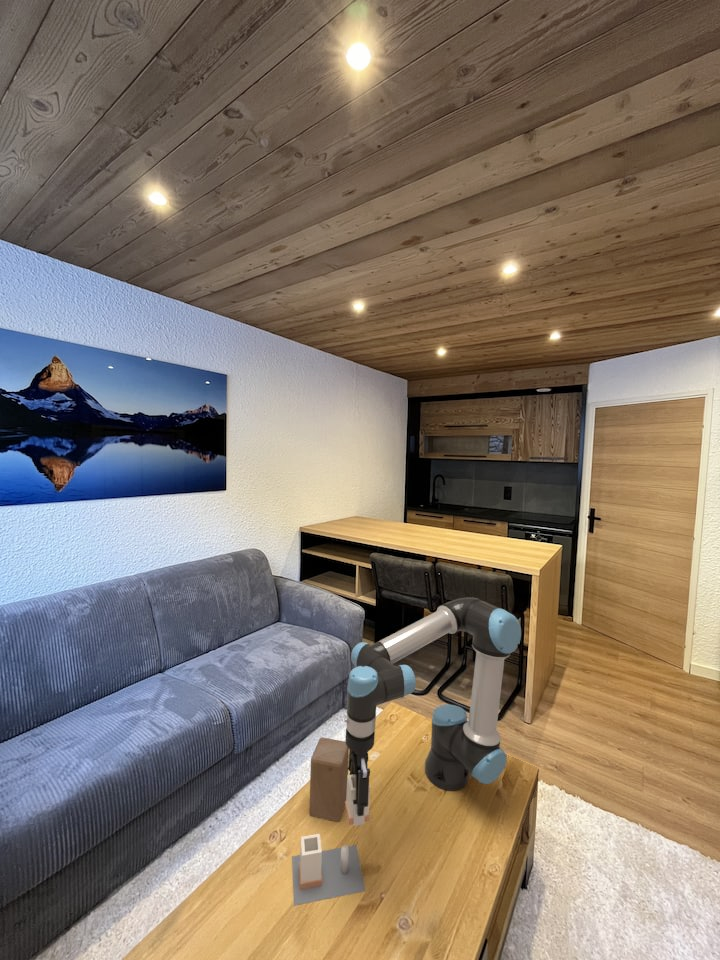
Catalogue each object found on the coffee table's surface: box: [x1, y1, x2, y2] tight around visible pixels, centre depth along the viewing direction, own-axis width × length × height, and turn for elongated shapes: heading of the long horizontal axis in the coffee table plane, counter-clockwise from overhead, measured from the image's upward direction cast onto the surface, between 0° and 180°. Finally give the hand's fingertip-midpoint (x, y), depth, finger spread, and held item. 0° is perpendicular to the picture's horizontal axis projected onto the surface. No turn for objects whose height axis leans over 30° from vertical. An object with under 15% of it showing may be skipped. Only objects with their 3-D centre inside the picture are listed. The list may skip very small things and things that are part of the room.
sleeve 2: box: [344, 774, 371, 826], centre depth 105 cm, size 6×6×9 cm
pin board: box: [291, 844, 366, 906], centre depth 105 cm, size 18×12×8 cm, turn 102°
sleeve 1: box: [299, 833, 323, 890], centre depth 104 cm, size 6×6×9 cm
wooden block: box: [309, 737, 349, 823], centre depth 125 cm, size 10×10×20 cm
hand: (356, 812), depth 105 cm, fingers closed on sleeve 2, 5 cm apart
